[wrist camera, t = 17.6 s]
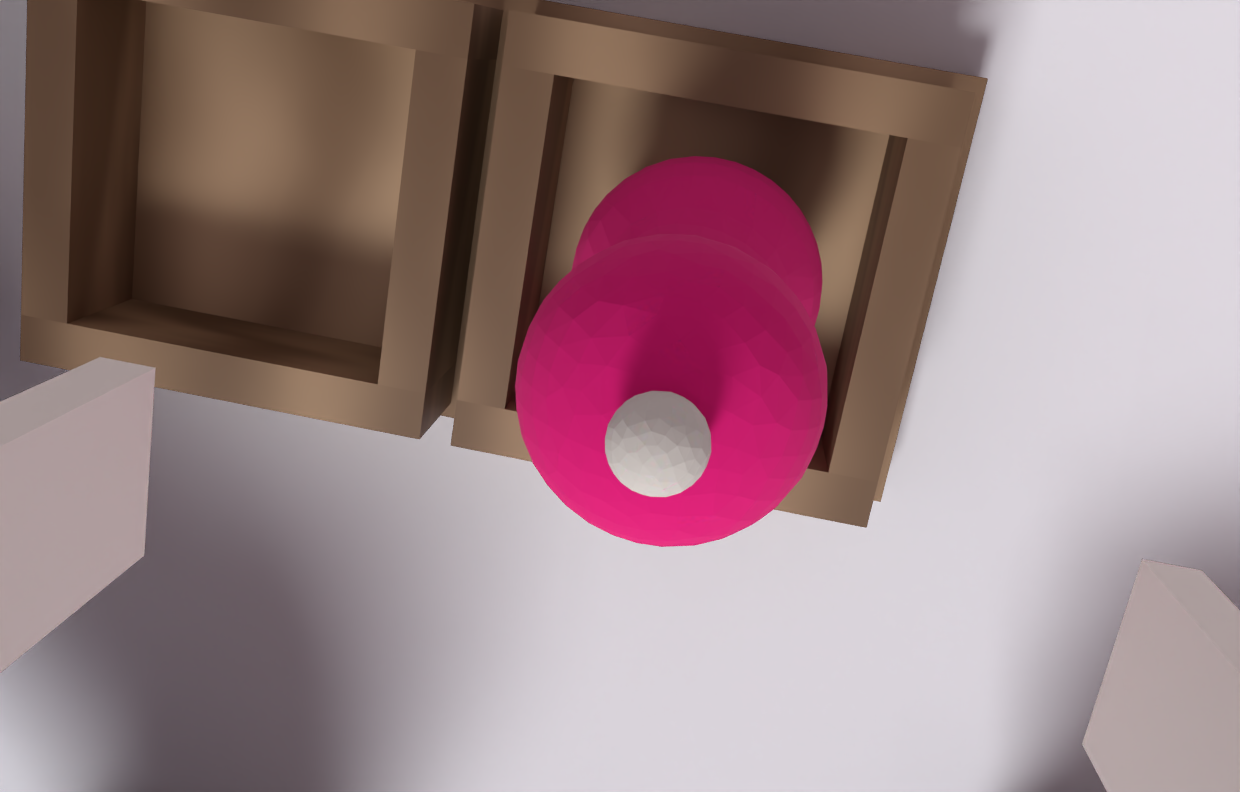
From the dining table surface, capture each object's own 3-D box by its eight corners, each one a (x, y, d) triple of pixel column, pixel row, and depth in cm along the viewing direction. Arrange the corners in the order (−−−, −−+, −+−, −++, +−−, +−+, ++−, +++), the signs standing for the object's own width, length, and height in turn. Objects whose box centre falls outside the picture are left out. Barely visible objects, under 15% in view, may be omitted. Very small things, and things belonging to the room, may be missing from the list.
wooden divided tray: (84, 331, 42) (-11, 369, 37) (99, -77, 38) (-5, -101, 33) (875, 486, 41) (895, 549, 35) (978, 78, 37) (1017, 80, 31)
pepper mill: (633, 114, 36) (507, 165, 17) (849, 192, 36) (962, 329, 17) (562, 324, 39) (380, 578, 19) (766, 398, 39) (785, 725, 19)
